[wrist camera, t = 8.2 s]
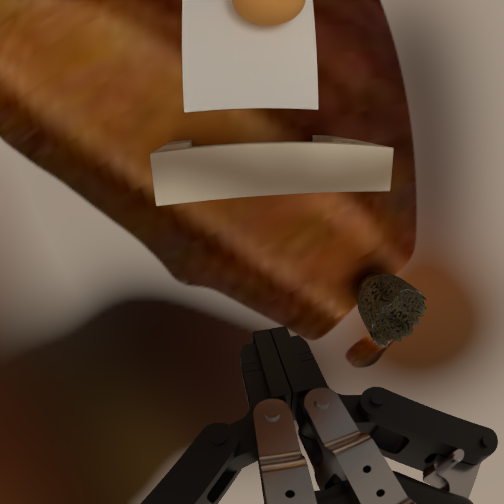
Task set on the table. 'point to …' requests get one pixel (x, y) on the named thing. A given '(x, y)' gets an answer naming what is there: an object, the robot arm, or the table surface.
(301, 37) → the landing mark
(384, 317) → the jagged textured lump
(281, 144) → the bridge
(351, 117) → the table surface
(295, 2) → the ball
